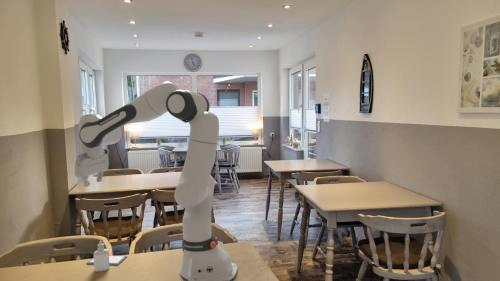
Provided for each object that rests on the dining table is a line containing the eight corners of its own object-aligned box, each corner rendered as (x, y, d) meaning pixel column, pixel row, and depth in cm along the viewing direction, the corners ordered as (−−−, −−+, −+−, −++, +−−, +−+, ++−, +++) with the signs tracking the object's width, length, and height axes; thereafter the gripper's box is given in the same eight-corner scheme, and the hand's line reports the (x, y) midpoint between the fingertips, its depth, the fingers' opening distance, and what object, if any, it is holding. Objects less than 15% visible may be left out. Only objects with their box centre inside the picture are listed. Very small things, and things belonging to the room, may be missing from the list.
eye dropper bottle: (105, 272, 136) (104, 243, 135) (92, 271, 137) (90, 242, 136) (111, 267, 140) (110, 239, 139) (98, 266, 141) (97, 238, 140)
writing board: (127, 257, 150) (127, 256, 150) (118, 265, 142) (118, 264, 142) (97, 256, 152) (97, 255, 151) (86, 264, 144) (86, 263, 144)
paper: (124, 256, 149) (124, 256, 149) (117, 263, 143) (117, 262, 143) (98, 255, 151) (97, 255, 151) (89, 262, 144) (89, 261, 144)
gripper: (84, 155, 135) (85, 189, 137) (110, 149, 156) (112, 179, 157) (69, 155, 136) (71, 189, 137) (97, 149, 156) (99, 179, 158)
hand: (93, 183), depth 147 cm, fingers open, 8 cm apart
